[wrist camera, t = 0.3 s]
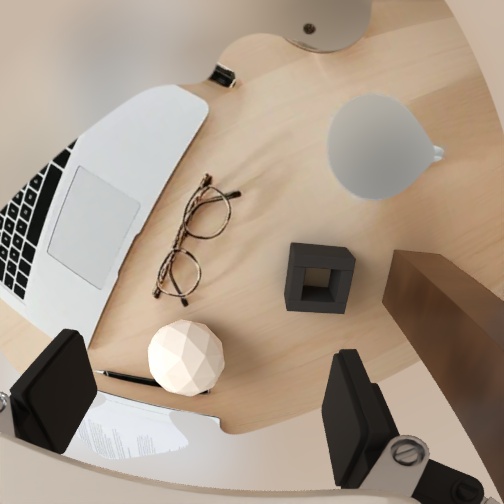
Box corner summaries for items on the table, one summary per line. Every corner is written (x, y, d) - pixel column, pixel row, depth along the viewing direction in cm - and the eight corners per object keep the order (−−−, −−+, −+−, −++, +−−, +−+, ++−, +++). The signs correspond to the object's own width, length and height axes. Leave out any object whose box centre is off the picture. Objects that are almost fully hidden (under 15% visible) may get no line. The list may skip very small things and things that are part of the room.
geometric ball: (189, 309, 36) (182, 297, 28) (238, 360, 35) (244, 362, 27) (141, 352, 34) (121, 351, 26) (189, 404, 32) (181, 418, 25)
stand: (387, 239, 30) (600, 456, 3) (449, 246, 30) (643, 406, 3) (371, 310, 32) (494, 550, 6) (430, 311, 32) (568, 499, 6)
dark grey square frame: (290, 242, 30) (294, 253, 27) (346, 247, 30) (356, 258, 27) (284, 294, 32) (286, 310, 29) (336, 298, 32) (344, 314, 29)
